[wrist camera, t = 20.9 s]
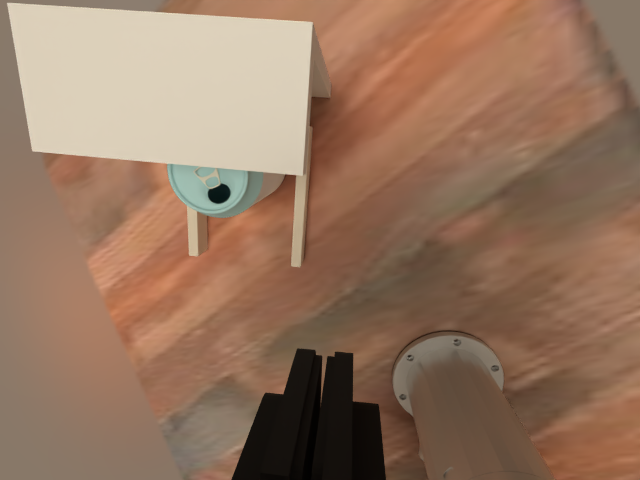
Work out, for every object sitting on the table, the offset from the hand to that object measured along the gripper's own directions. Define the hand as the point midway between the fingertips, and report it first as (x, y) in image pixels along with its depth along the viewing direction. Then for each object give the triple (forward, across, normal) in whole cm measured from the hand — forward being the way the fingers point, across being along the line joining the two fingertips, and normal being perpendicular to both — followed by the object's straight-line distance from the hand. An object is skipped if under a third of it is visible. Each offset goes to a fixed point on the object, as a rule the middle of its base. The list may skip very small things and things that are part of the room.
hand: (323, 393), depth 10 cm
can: (+26, +10, -6) cm, 28 cm away
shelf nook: (+26, +10, -6) cm, 28 cm away
